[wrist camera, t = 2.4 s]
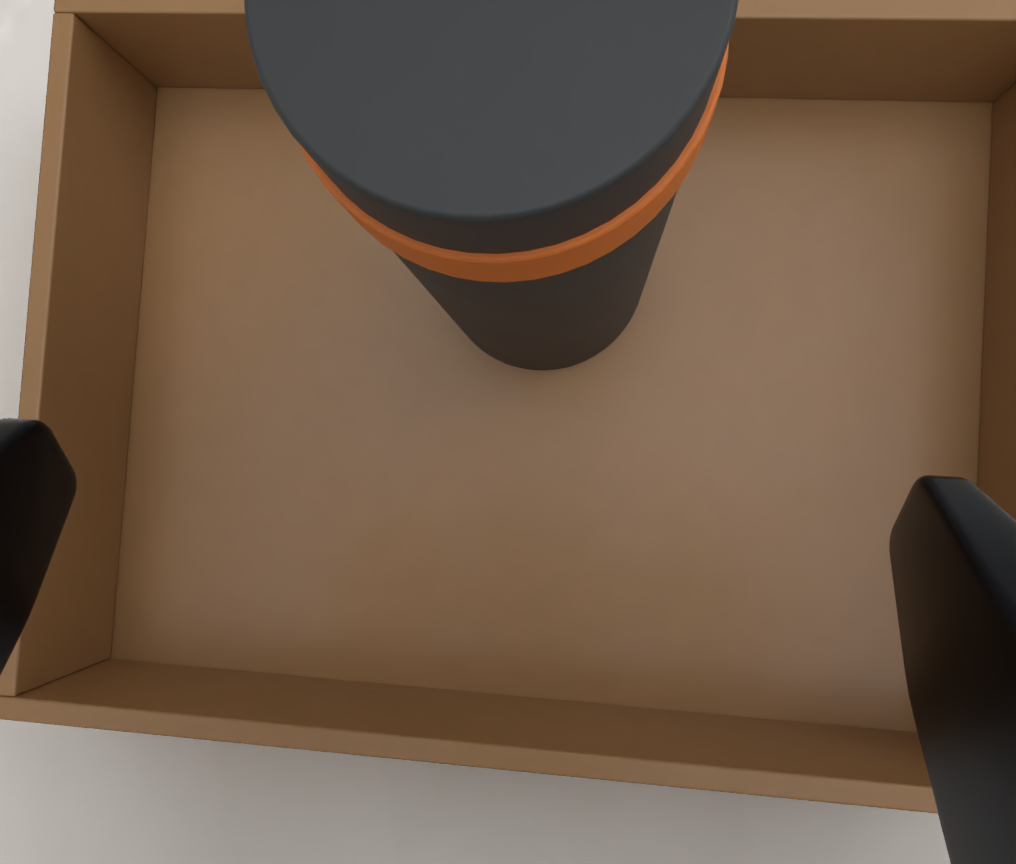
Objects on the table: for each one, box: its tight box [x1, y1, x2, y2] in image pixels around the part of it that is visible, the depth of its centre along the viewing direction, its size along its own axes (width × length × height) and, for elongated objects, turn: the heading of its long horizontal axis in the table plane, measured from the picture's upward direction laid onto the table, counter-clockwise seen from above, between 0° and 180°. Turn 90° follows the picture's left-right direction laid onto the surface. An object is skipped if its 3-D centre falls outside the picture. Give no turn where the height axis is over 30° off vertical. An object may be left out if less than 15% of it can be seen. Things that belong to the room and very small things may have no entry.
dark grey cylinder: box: [244, 0, 739, 370], centre depth 14 cm, size 5×5×12 cm
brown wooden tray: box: [0, 0, 1016, 813], centre depth 18 cm, size 16×22×4 cm
